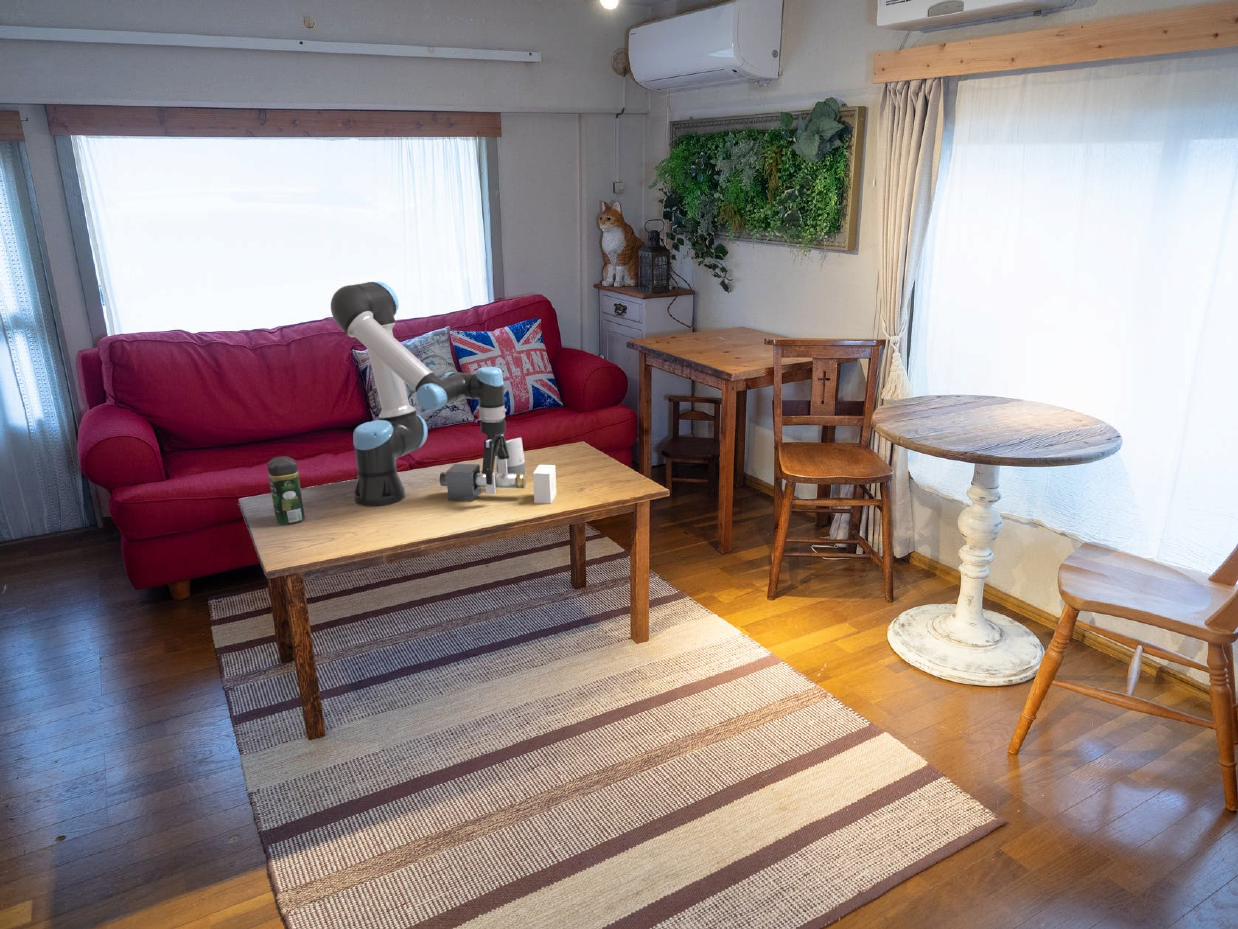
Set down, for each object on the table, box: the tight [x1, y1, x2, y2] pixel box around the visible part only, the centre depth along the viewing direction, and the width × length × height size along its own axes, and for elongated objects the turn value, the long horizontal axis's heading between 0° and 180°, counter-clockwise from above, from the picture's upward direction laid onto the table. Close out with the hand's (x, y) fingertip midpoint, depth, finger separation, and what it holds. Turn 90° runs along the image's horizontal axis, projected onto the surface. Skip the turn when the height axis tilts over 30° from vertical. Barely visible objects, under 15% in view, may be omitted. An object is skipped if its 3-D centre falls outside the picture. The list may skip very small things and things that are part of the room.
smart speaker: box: [496, 437, 526, 475], centre depth 279 cm, size 10×9×14 cm
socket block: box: [532, 464, 557, 505], centre depth 261 cm, size 5×8×10 cm, turn 172°
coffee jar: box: [267, 455, 306, 525], centre depth 246 cm, size 10×8×19 cm
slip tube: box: [439, 471, 527, 489], centre depth 263 cm, size 26×4×4 cm, turn 82°
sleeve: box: [445, 463, 482, 502], centre depth 264 cm, size 8×8×9 cm
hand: (497, 486), depth 263 cm, fingers open, 13 cm apart
